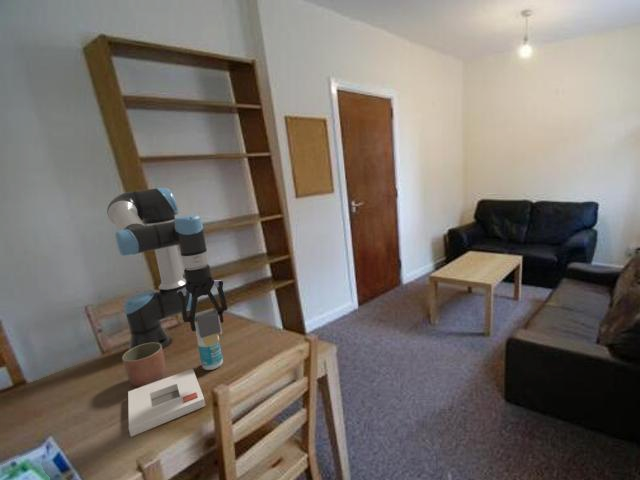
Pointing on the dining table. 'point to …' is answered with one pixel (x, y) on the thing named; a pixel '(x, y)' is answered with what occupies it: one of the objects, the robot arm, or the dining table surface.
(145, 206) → the robot arm
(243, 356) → the dining table surface
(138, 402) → the socket plate
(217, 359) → the pill bottle
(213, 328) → the plug
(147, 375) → the planter
